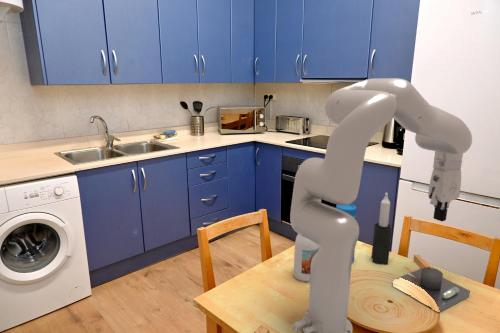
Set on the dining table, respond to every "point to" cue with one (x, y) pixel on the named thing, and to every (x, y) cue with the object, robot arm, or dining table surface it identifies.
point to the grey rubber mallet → (428, 274)
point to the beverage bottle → (350, 210)
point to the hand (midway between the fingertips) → (439, 219)
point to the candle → (382, 235)
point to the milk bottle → (304, 257)
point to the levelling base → (441, 291)
